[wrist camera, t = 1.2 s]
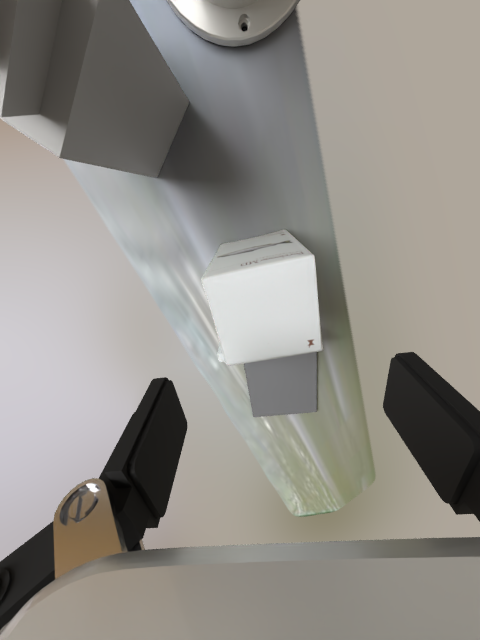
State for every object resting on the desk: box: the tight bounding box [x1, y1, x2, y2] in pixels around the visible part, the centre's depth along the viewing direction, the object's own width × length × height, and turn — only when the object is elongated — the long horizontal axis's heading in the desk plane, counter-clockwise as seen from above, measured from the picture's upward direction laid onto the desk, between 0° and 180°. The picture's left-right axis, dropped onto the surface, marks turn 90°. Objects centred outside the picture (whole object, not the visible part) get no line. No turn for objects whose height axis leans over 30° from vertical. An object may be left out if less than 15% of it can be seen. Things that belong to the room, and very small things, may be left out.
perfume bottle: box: [0, 0, 189, 178], centre depth 13 cm, size 7×7×18 cm
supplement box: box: [201, 229, 323, 366], centre depth 21 cm, size 7×7×13 cm
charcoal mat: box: [244, 352, 317, 417], centre depth 35 cm, size 12×10×1 cm
